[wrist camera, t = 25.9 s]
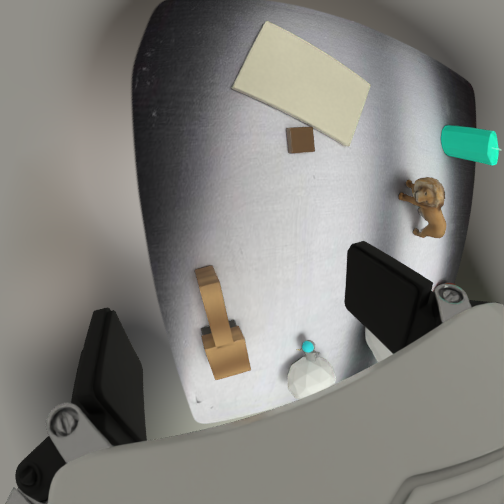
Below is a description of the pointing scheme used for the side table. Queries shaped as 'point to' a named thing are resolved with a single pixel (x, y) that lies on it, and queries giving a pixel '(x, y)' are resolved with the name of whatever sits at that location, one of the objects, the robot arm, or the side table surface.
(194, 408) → the side table surface
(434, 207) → the lion figurine
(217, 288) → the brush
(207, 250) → the side table surface
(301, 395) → the perfume bottle
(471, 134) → the candle
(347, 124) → the tile
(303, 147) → the mud flake
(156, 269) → the side table surface
